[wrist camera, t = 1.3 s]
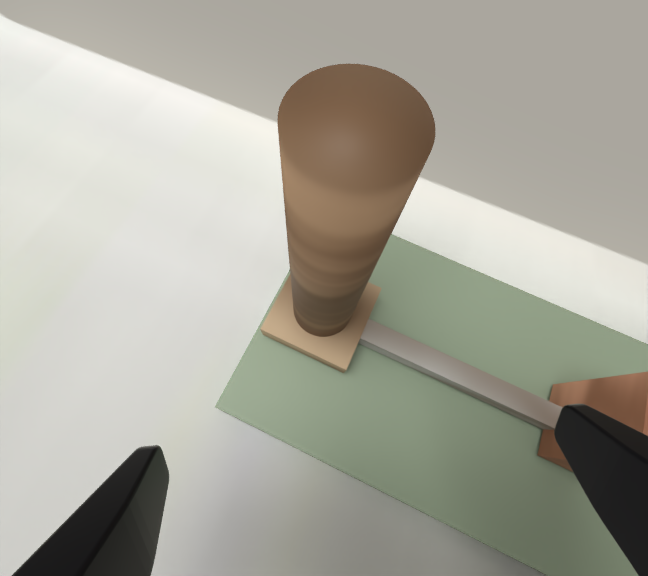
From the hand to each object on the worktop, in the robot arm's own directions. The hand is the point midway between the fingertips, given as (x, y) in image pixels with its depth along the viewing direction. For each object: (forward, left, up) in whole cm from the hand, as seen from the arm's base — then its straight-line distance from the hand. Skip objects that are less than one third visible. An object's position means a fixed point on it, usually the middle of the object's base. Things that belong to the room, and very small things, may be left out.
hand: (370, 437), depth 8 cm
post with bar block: (+5, -4, -11) cm, 13 cm away
